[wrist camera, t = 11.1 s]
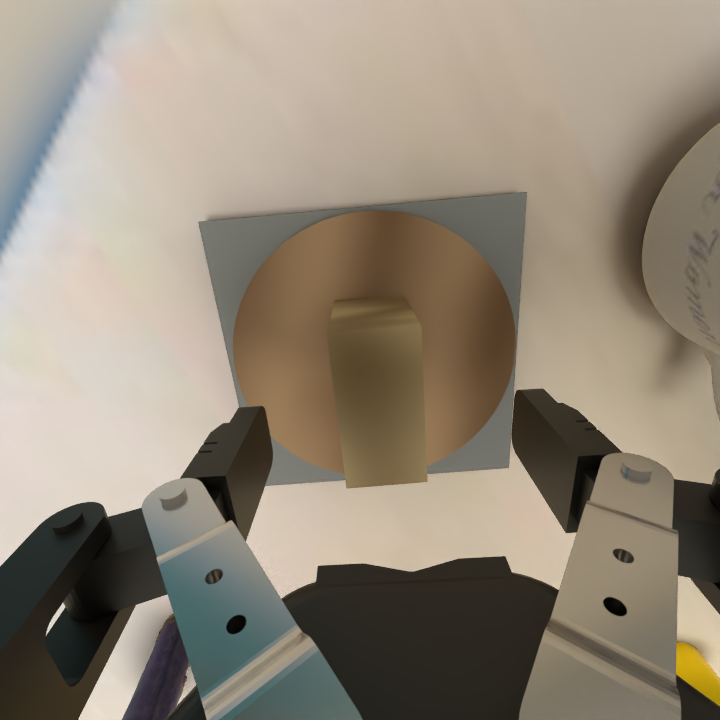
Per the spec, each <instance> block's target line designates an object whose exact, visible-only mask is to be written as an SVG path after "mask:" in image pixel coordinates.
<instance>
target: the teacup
mask: <svg viewBox="0 0 720 720" xmlns="http://www.w3.org/2000/svg"><path fill="white" fill-rule="evenodd" d="M642 271H643V277H644V282H645V286H646V289H647V292H648V295H649V297H650V299H651V301H652V303H653V305H654V307H655V309H656V310H657V311H658V313H659V314H660V315H661V317H662V318H663V319H664V320H665V321H666V322H667V323H668V324H669V325H670V326H671V327H672V328H673V329H674V330H676V331H677V332H678V333H680V334H681V335H683V336H684V337H685V338H687V339H689V340H691V341H692V342H694V343H696V344H698V345H700V346H702V347H704V348H703V350H704V355H705V357H706V358H707V360H708V362H709V363H710V365H711V371H712V383H713V392H714V401H715V405H716V410H717V414H718V417H719V420H720V122H719V123H718V124H717V125H716V126H714V127H713V128H712V129H711V130H710V131H708V132H707V133H706V134H705V135H704V136H703V137H702V138H701V139H700V140H699V141H698V142H697V143H696V144H695V145H694V146H693V147H692V148H691V149H690V150H689V151H688V152H687V154H686V155H685V156H684V157H683V158H682V159H681V161H680V162H679V163H678V164H677V166H676V167H675V169H674V170H673V171H672V173H671V174H670V176H669V177H668V179H667V181H666V182H665V184H664V186H663V187H662V189H661V191H660V193H659V195H658V197H657V199H656V201H655V203H654V206H653V208H652V210H651V213H650V216H649V219H648V222H647V226H646V231H645V235H644V239H643V249H642Z"/></svg>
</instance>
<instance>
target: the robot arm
mask: <svg viewBox="0 0 720 720" xmlns="http://www.w3.org/2000/svg"><path fill="white" fill-rule="evenodd" d="M512 444H513V448H514V450H515V453H516V454H517V456H518V458H519V459H520V461H521V462H522V464H523V466H524V467H525V469H526V470H527V472H528V474H529V475H530V477H531V478H532V480H533V481H534V483H535V485H536V486H537V488H538V489H539V491H540V493H541V494H542V496H543V497H544V499H545V501H546V502H547V504H548V505H549V507H550V508H551V510H552V512H553V513H554V515H555V516H556V518H557V520H558V521H559V523H560V524H561V526H562V528H563V529H564V531H565V532H566V533H574V532H577V534H576V537H575V540H574V544H573V547H572V550H571V553H570V557H569V560H568V563H567V566H566V570H565V573H564V576H563V579H562V583H561V586H560V589H559V590H557V589H556V588H554V587H552V586H550V585H548V584H546V583H544V582H542V581H539V580H537V579H534V578H531V577H528V576H525V575H521V574H517V573H512V572H511V569H510V567H509V565H508V562H507V560H506V557H505V556H502V557H483V558H463V559H456V560H453V561H449V562H446V563H442V564H439V565H436V566H432V567H429V568H425V569H422V570H419V571H414V572H409V571H402V570H397V569H391V568H386V567H380V566H374V565H369V564H345V565H326V566H318V571H317V579H316V582H314V583H311V584H308V585H306V586H304V587H301V588H299V589H297V590H295V591H293V592H291V593H290V594H288V595H286V596H285V597H283V598H282V599H281V598H280V596H279V595H278V593H277V591H276V590H275V588H274V587H273V585H272V583H271V582H270V580H269V579H268V577H267V575H266V574H265V572H264V570H263V569H262V567H261V566H260V564H259V562H258V561H257V559H256V558H255V556H254V554H253V553H252V551H251V550H250V548H249V546H248V545H247V543H246V539H247V536H248V534H249V531H250V528H251V525H252V522H253V519H254V516H255V513H256V510H257V508H258V505H259V502H260V499H261V496H262V493H263V490H264V487H265V485H266V482H267V479H268V476H269V473H270V470H271V467H272V462H273V448H272V442H271V437H270V431H269V426H268V420H267V415H266V411H265V408H264V407H263V406H252V407H239V408H238V410H237V411H236V413H235V415H234V416H233V418H232V419H231V421H230V423H223V424H222V425H220V426H219V427H218V428H216V429H215V430H214V431H212V432H211V433H210V434H209V436H208V437H207V439H206V440H205V442H204V445H202V446H201V448H200V449H199V451H198V453H197V454H196V455H195V457H194V458H193V460H192V461H191V463H190V464H189V466H188V467H187V469H186V470H185V472H184V473H183V475H182V476H181V478H180V479H177V480H173V481H170V482H168V483H165V484H163V485H161V486H160V487H158V488H156V489H155V490H154V491H152V492H151V493H150V494H149V495H148V496H147V497H146V499H145V500H144V502H143V504H142V508H139V509H136V510H132V511H129V512H125V513H121V514H118V515H114V516H110V517H108V516H107V514H106V511H105V509H104V507H103V505H101V504H100V503H96V502H86V503H80V504H76V505H73V506H70V507H68V508H65V509H63V510H61V511H59V512H57V513H55V514H54V515H52V516H51V517H49V518H48V519H46V520H45V521H44V522H42V523H41V524H40V525H39V526H38V527H37V528H36V529H35V530H34V531H33V533H32V534H31V535H30V536H29V537H28V538H27V539H26V540H25V541H24V542H23V543H22V544H21V545H20V546H19V547H18V548H17V550H16V551H15V552H14V553H13V554H12V555H11V556H10V557H9V558H8V559H7V560H6V561H5V562H4V563H3V564H2V565H1V567H0V720H78V718H79V716H80V714H81V712H82V710H83V708H84V706H85V704H86V703H87V701H88V699H89V697H90V695H91V693H92V691H93V689H94V687H95V685H96V683H97V681H98V679H99V677H100V675H101V673H102V671H103V669H104V667H105V665H106V663H107V661H108V659H109V657H110V655H111V653H112V651H113V649H114V647H115V645H116V643H117V641H118V639H119V637H120V635H121V633H122V632H123V630H124V628H125V626H126V624H127V622H128V620H129V618H130V616H131V614H132V612H133V610H134V608H135V606H136V605H137V604H140V603H143V602H146V601H149V600H152V599H155V598H158V597H161V596H164V595H167V594H168V597H169V600H170V603H171V606H172V609H173V612H174V616H175V619H176V622H177V625H178V628H179V631H180V635H181V638H182V641H183V644H184V647H185V650H186V654H187V657H188V660H189V663H190V666H191V669H192V672H193V676H194V679H195V682H196V686H195V687H194V688H193V689H192V691H191V692H190V693H189V694H188V695H187V696H186V697H185V698H184V699H183V700H182V701H181V702H180V703H179V704H178V705H177V706H176V708H175V709H174V710H173V711H172V712H171V713H170V714H169V715H168V716H167V717H166V718H165V719H164V720H720V706H719V705H717V704H716V703H715V702H713V701H712V700H711V699H709V698H708V697H706V696H705V695H704V694H702V693H701V692H700V691H698V690H697V689H695V688H694V687H693V686H691V685H690V684H689V683H687V682H686V681H684V680H683V679H682V678H680V677H679V676H678V675H676V649H677V592H678V575H679V576H684V577H689V578H691V580H692V581H693V582H694V583H695V585H696V586H697V587H698V588H699V590H700V591H701V592H702V593H703V594H704V596H705V597H706V598H707V599H708V601H709V602H710V603H711V604H712V606H713V607H714V608H715V609H716V610H717V612H718V613H719V614H720V469H719V470H718V471H716V473H715V476H714V479H713V483H712V485H711V484H704V483H697V482H690V481H682V480H676V479H674V478H673V476H672V474H671V473H670V472H669V471H668V470H667V469H666V468H665V467H664V466H662V465H661V464H659V463H657V462H655V461H653V460H651V459H649V458H646V457H643V456H640V455H635V454H630V453H623V452H621V451H620V450H619V449H618V448H617V447H616V446H615V445H614V444H613V443H612V442H611V441H610V440H609V439H608V438H607V437H605V436H604V435H603V434H602V433H601V432H600V431H599V430H596V427H595V426H594V425H593V424H592V423H590V422H588V420H587V419H586V418H585V417H584V416H583V415H582V414H581V413H580V412H579V411H578V410H576V409H574V408H572V407H570V406H568V405H566V404H564V403H557V402H556V401H555V400H554V399H553V398H552V397H551V396H550V395H549V394H548V393H547V392H546V391H545V390H544V389H528V390H518V391H516V394H515V398H514V410H513V422H512ZM62 603H64V605H65V609H64V610H63V612H62V613H61V615H60V616H59V618H58V619H57V621H56V622H55V624H54V625H53V627H52V628H51V629H50V631H49V632H48V634H47V635H46V631H47V628H48V625H49V623H50V621H51V619H52V617H53V616H54V614H55V613H56V611H57V610H58V609H59V607H60V606H61V604H62Z"/></svg>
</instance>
